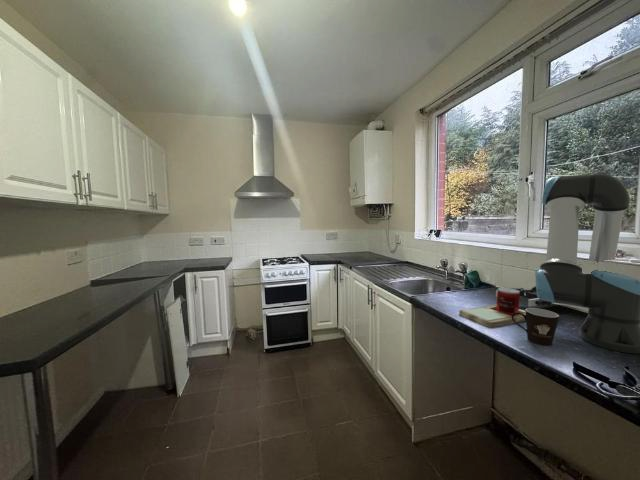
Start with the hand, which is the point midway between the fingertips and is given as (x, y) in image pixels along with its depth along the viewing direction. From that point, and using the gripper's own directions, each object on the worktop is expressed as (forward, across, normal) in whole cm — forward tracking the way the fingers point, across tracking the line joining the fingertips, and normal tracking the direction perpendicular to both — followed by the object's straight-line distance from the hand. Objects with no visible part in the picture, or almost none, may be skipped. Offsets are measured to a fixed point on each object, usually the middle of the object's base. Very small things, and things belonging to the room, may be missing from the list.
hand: (511, 298), depth 114 cm
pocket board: (+9, -1, -7) cm, 12 cm away
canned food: (+3, -1, -7) cm, 8 cm away
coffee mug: (+17, -20, -7) cm, 27 cm away
